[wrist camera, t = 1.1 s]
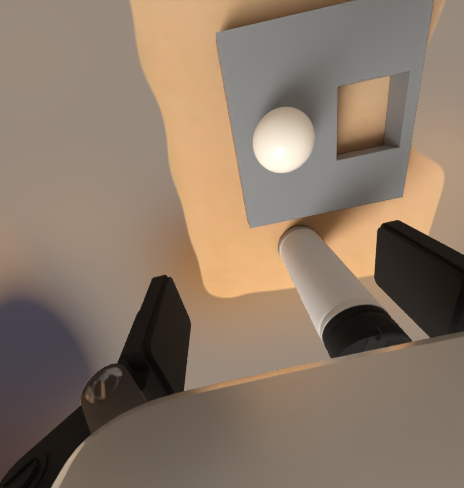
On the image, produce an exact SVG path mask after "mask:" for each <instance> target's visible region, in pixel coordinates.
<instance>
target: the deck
mask: <svg viewBox="0 0 464 488" xmlns="http://www.w3.org/2000/svg"><path fill="white" fill-rule="evenodd" d="M433 2H434V0H354V1H350V2H346V3H341V4H337V5H333V6H328V7H324V8H320V9H315V10H311V11H307V12H303V13H298V14H294V15H290V16H285V17H281V18H277V19H273V20H268V21H264V22H260V23H255V24H251V25H247V26H242V27H238V28H234V29H230V30H225V31H221V32H217V33H216V45H217V51H218V56H219V62H220V68H221V74H222V79H223V85H224V91H225V96H226V102H227V108H228V113H229V119H230V125H231V130H232V136H233V142H234V147H235V153H236V159H237V164H238V170H239V176H240V182H241V187H242V193H243V199H244V204H245V210H246V216H247V221H248V224H249V227H250V228H254V227H258V226H263V225H268V224H273V223H278V222H283V221H288V220H293V219H297V218H302V217H307V216H312V215H317V214H322V213H327V212H332V211H336V210H341V209H346V208H351V207H356V206H361V205H366V204H371V203H375V202H380V201H385V200H390V199H395V198H400V197H403V192H404V186H405V180H406V173H407V167H408V160H409V154H410V148H411V141H412V135H413V129H414V122H415V116H416V110H417V103H418V97H419V90H420V84H421V77H422V71H423V65H424V59H425V52H426V46H427V40H428V33H429V27H430V21H431V14H432V8H433ZM390 75H391V77H390V87H389V96H388V106H387V115H386V125H385V134H384V143H383V145H381V146H376V147H371V148H366V149H362V150H357V151H352V152H348V153H343V154H338V155H337V99H338V87H340V86H345V85H349V84H354V83H358V82H363V81H367V80H372V79H376V78H381V77H385V76H390ZM280 107H293V108H296V109H299V110H300V111H302V112H303V113H305V114H306V115H307V116H308V118H309V119H310V121H311V122H312V125H313V127H314V132H315V142H314V147H313V150H312V152H311V154H310V156H309V158H308V159H307V160H306V162H305V163H304V164H303V165H301V166H300V167H299V168H297V169H295V170H293V171H291V172H287V173H275V172H272V171H270V170H268V169H266V168H264V167H263V166H262V165H261V164H260V163H259V161H258V160H257V158H256V156H255V153H254V150H253V135H254V132H255V129H256V127H257V125H258V123H259V122H260V120H261V119H262V118H263V117H264V116H265V115H266V114H267V113H269V112H270V111H272V110H274V109H276V108H280Z"/></svg>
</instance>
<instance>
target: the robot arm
mask: <svg viewBox="0 0 464 488" xmlns="http://www.w3.org/2000/svg"><path fill="white" fill-rule="evenodd" d="M374 278H375V281H376V283H377V285H378V286H379V287H380V288H381V289H382V290H383V291H384V292H385V293H386V294H387V295H388V296H389V297H390V298H391V299H392V300H393V301H394V302H395V303H396V304H397V305H398V306H399V307H400V308H401V309H402V310H403V311H404V312H405V313H406V314H407V315H408V316H409V317H410V318H411V319H412V320H413V321H414V322H415V323H416V324H417V325H418V326H419V327H420V328H421V329H422V330H423V331H424V332H425V333H426V334H428V336H429V337H430V338H429V339H423V340H419V341H414V342H409V343H404V344H399V345H394V346H389V347H384V348H380V349H375V350H370V351H365V352H361V353H356V354H351V355H346V356H342V357H337V358H332V359H328V360H323V361H318V362H313V363H309V364H304V365H300V366H295V367H290V368H286V369H281V370H276V371H272V372H267V373H262V374H258V375H253V376H249V377H244V378H239V379H235V380H231V381H226V382H221V383H217V384H213V385H209V386H204V387H201V388H196V389H192V390H187V391H184V384H185V374H186V365H187V357H188V347H189V338H190V330H191V322H190V318H189V316H188V314H187V311H186V309H185V307H184V305H183V302H182V300H181V298H180V295H179V293H178V291H177V289H176V286H175V284H174V282H173V279H172V278H171V277H167V276H166V275H162V276H158V277H154V278H153V279H152V281H151V283H150V286H149V288H148V291H147V293H146V296H145V298H144V301H143V304H142V306H141V309H140V311H139V312H138V313H137V315H136V318H135V321H134V323H133V325H132V328H131V330H130V333H129V335H128V338H127V341H126V343H125V346H124V348H123V351H122V353H121V355H120V358H119V361H118V363H115V364H110V365H108V366H105V367H103V368H102V369H100V370H99V371H98V372H96V373H95V374H94V375H93V376H92V377H91V378H90V379H89V380H88V382H87V383H86V385H85V386H84V388H83V390H82V393H81V396H80V400H81V406H80V407H79V408H77V410H75V411H74V412H73V413H72V414H71V415H70V416H68V417H67V418H66V419H65V420H64V421H63V422H62V423H60V424H59V425H58V426H57V427H56V428H55V429H54V430H52V431H51V432H50V433H49V434H48V435H47V436H46V437H44V438H43V439H42V440H41V441H40V442H39V443H38V444H36V445H35V446H34V447H33V448H32V449H31V450H30V451H29V452H27V453H26V454H25V455H24V456H23V457H22V458H21V459H20V460H19V461H18V462H17V463H16V464H15V465H14V466H13V467H12V468H11V469H10V470H9V471H8V473H7V474H6V475H5V477H4V478H3V479H2V481H1V483H0V488H464V255H463V254H461V253H459V252H457V251H455V250H454V249H452V248H450V247H448V246H446V245H444V244H442V243H440V242H439V241H437V240H435V239H433V238H431V237H429V236H427V235H425V234H424V233H422V232H420V231H418V230H416V229H414V228H412V227H410V226H409V225H407V224H405V223H403V222H401V221H399V220H395V221H391V222H387V223H383V224H382V225H381V227H380V228H378V231H377V244H376V259H375V274H374Z"/></svg>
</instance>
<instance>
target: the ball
mask: <svg viewBox="0 0 464 488" xmlns="http://www.w3.org/2000/svg"><path fill="white" fill-rule="evenodd" d="M314 142H315V132H314V127H313V125H312V122H311V121H310V119H309V118H308V116H307V115H306V114H305V113H303V112H302V111H300V110H299V109H296V108H293V107H280V108H276V109H274V110H272V111H270V112H269V113H267V114H266V115H265V116H264V117H263V118H262V119H261V120H260V122H259V123H258V125H257V127H256V129H255V132H254V135H253V150H254V153H255V156H256V158H257V160H258V161H259V163H260V164H261V165H262V166H263V167H264V168H266V169H268V170H270V171H272V172H275V173H287V172H291V171H293V170H295V169H297V168H299V167H300V166H301V165H303V164H304V163H305V162H306V160H307V159H308V158H309V156H310V154H311V152H312V150H313V147H314Z"/></svg>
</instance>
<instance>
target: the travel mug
mask: <svg viewBox="0 0 464 488" xmlns="http://www.w3.org/2000/svg"><path fill="white" fill-rule="evenodd" d="M278 251H279V254H280V256H281V258H282V260H283V262H284V264H285V266H286V268H287V270H288V272H289V274H290V277H291V279H292V281H293V283H294V285H295V287H296V289H297V291H298V293H299V295H300V297H301V299H302V301H303V303H304V305H305V307H306V309H307V311H308V314H309V316H310V318H311V320H312V322H313V324H314V326H315V328H316V330H317V332H318V334H319V336H320V338H321V340H322V342H323V344H324V346H325V347H326V349H327V351H328V353H329V356H330V358H331V359H332V358H337V357H342V356H346V355H351V354H356V353H361V352H365V351H370V350H375V349H380V348H384V347H389V346H394V345H399V344H404V343H409V342H412V340H411V339H410V338H409V337H408V335H407V334H406V333H405V332H404V331H403V330H402V329H401V328H400V327H399V325H398V324H397V323H396V322H395V321H394V320H393V319H392V318H391V316H390V315H389V314H388V312H387V311H386V310H385V309H384V308H383V307H382V306H381V304H380V303H379V302H378V301H377V300H376V299H375V298H374V297H373V295H372V294H371V293H370V292H369V291H368V290H367V289H366V288H365V286H364V285H363V284H362V283H361V282H360V281H359V280H358V279H357V278H356V276H355V275H354V274H353V273H352V272H351V271H350V270H349V269H348V268H347V266H346V265H345V264H344V263H343V262H342V261H341V260H340V259H339V258H338V256H337V255H336V254H335V253H334V252H333V251H332V250H331V249H330V248H329V246H328V245H327V244H326V243H325V242H324V241H323V240H322V239H321V238H320V236H319V235H318V234H317V233H316V232H315V231H314V230H313V229H311V228H309V227H306V226H297V227H294V228H291V229H289V230H288V231H286V232H285V233H284V234H283V235H282V237H281V238H280V240H279V243H278Z"/></svg>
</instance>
